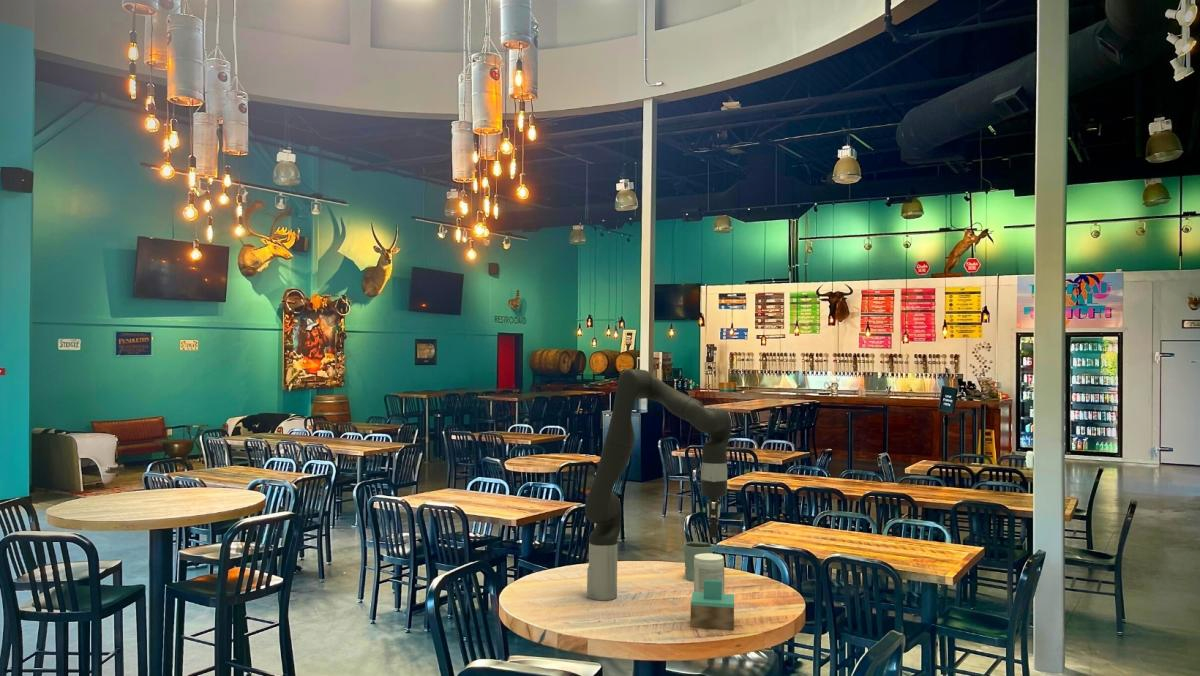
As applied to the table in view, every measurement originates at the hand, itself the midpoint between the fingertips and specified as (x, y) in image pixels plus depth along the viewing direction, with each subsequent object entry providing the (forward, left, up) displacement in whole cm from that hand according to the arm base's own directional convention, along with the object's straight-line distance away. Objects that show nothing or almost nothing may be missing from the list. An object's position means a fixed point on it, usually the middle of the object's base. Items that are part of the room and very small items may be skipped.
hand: (713, 534), depth 239 cm
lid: (0, 0, -20) cm, 20 cm away
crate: (0, 0, -26) cm, 26 cm away
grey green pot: (-7, +51, -26) cm, 58 cm away
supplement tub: (-2, +22, -26) cm, 35 cm away
